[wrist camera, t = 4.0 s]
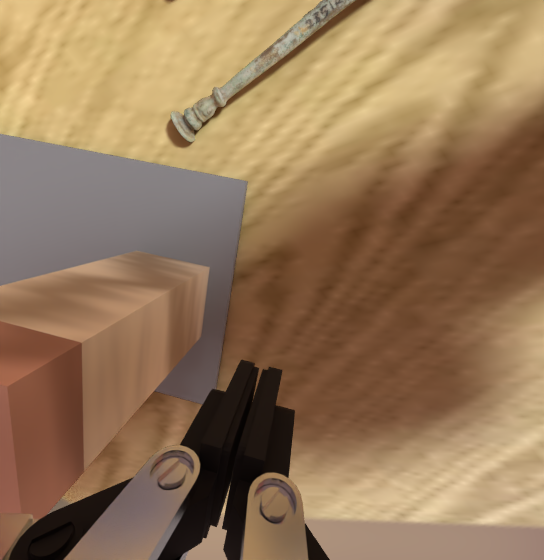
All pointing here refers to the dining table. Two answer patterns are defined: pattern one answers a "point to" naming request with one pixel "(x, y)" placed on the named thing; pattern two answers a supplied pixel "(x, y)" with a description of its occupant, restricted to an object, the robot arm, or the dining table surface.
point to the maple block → (85, 364)
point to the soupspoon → (257, 67)
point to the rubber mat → (122, 229)
